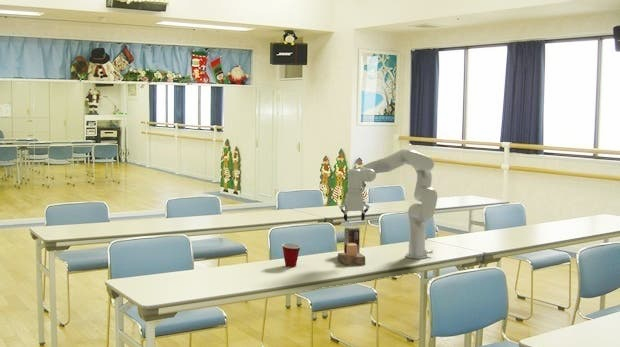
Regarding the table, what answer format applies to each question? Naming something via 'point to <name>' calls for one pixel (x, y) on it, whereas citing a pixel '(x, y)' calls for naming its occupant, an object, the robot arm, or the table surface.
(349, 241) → the coffee box
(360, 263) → the walnut block
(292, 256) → the plastic cup
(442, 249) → the table surface
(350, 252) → the orange block
